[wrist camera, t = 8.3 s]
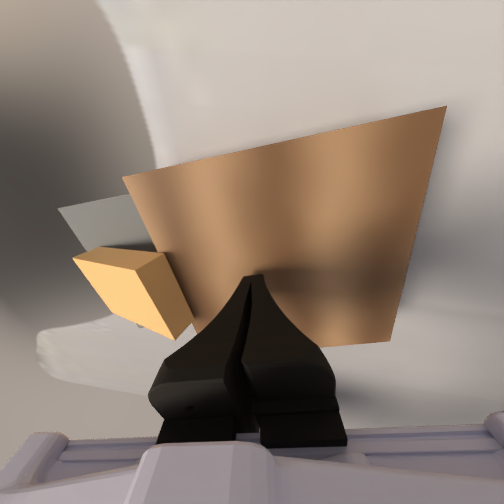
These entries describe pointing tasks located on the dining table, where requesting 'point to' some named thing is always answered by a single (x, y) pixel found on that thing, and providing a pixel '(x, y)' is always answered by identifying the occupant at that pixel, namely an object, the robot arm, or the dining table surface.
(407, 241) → the panel
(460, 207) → the dining table surface
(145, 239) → the mat
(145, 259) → the block
